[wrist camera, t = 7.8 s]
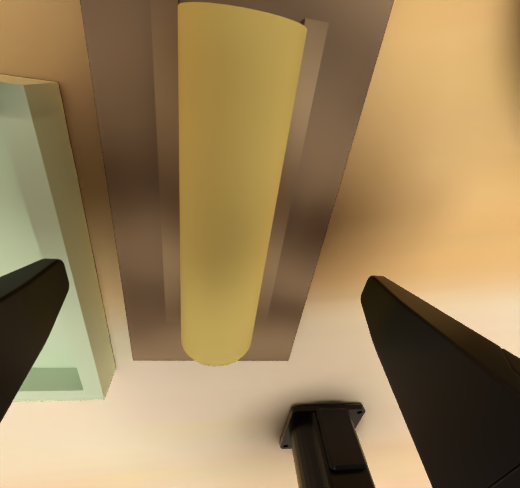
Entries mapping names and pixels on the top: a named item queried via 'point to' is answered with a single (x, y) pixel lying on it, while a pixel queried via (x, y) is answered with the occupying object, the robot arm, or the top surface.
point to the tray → (51, 239)
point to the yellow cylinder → (230, 165)
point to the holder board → (167, 156)
